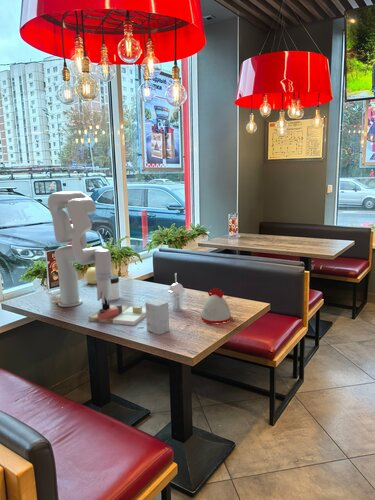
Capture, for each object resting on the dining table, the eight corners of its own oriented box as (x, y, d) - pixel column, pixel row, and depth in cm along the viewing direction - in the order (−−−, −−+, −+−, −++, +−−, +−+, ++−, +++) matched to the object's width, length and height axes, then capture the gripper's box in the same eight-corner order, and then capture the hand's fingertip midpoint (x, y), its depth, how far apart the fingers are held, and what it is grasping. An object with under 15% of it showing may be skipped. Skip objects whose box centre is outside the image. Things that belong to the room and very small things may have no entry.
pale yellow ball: (107, 280, 255) (106, 264, 253) (100, 285, 243) (99, 268, 241) (90, 280, 256) (89, 264, 254) (83, 285, 245) (82, 268, 243)
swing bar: (114, 312, 187) (114, 304, 187) (118, 313, 185) (118, 305, 185) (97, 318, 180) (97, 309, 179) (101, 319, 178) (100, 311, 177)
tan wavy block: (88, 320, 183) (87, 310, 182) (108, 308, 200) (107, 298, 199) (113, 323, 179) (112, 312, 178) (130, 310, 196) (130, 300, 195)
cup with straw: (187, 307, 198) (186, 269, 194) (182, 313, 189) (181, 273, 185) (171, 306, 200) (170, 268, 196) (166, 312, 191) (164, 273, 188)
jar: (108, 301, 211) (106, 280, 209) (102, 297, 218) (100, 277, 216) (123, 298, 216) (121, 277, 214) (117, 294, 223) (115, 274, 220)
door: (112, 323, 179) (112, 314, 179) (130, 310, 196) (129, 301, 195) (134, 325, 176) (133, 316, 175) (150, 311, 193) (149, 303, 192)
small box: (169, 330, 169) (168, 302, 166) (159, 335, 164) (157, 306, 162) (157, 326, 174) (155, 298, 172) (146, 330, 169) (144, 302, 167)
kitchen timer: (222, 326, 172) (221, 294, 169) (195, 321, 179) (194, 289, 176) (235, 316, 183) (235, 286, 180) (210, 311, 190) (210, 282, 188)
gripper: (99, 271, 190) (102, 307, 193) (91, 279, 175) (94, 318, 179) (114, 271, 190) (117, 306, 193) (108, 279, 175) (110, 317, 179)
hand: (106, 312), depth 186 cm, fingers closed
